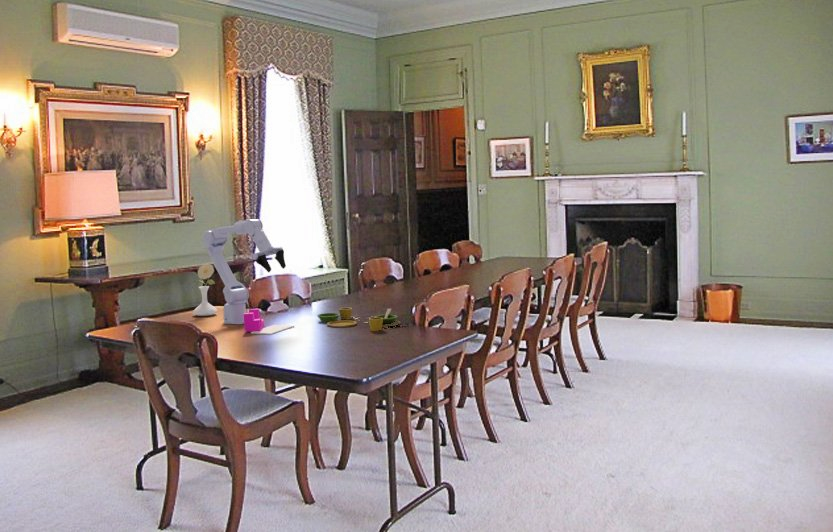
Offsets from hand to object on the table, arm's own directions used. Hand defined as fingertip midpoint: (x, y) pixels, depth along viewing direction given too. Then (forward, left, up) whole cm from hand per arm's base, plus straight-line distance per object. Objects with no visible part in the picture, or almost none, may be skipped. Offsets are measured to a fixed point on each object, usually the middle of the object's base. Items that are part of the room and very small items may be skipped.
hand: (277, 269), depth 347 cm
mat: (0, -5, -25) cm, 26 cm away
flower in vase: (-52, +19, -26) cm, 61 cm away
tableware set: (+30, +18, -26) cm, 44 cm away
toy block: (-8, -5, -25) cm, 27 cm away
